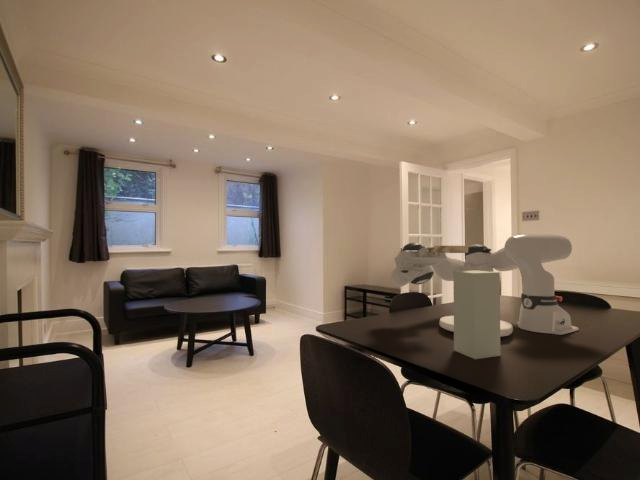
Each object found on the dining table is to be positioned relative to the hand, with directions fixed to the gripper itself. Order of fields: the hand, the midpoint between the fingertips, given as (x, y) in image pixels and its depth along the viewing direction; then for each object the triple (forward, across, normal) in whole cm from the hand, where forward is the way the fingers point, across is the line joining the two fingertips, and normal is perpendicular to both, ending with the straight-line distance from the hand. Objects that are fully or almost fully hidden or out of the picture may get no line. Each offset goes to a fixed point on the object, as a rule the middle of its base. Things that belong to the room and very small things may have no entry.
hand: (432, 248), depth 127 cm
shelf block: (+2, 0, -40) cm, 40 cm away
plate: (-16, -19, -30) cm, 39 cm away
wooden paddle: (+4, 0, -4) cm, 6 cm away
